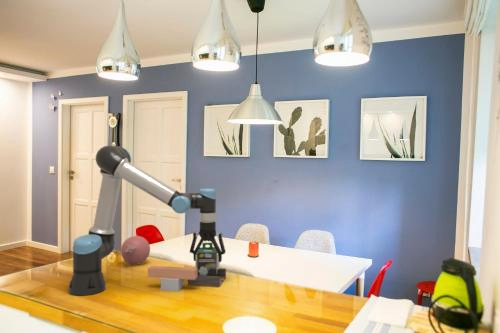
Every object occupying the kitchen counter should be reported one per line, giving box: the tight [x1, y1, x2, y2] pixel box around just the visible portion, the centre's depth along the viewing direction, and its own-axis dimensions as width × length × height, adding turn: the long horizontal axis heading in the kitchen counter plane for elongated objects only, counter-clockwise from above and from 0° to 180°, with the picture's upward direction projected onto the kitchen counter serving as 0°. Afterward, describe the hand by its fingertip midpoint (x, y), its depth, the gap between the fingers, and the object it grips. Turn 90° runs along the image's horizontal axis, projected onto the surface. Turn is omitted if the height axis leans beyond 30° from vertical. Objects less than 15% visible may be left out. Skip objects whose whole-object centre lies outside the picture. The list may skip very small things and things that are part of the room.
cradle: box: [187, 267, 227, 288], centre depth 187 cm, size 14×15×4 cm
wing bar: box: [147, 265, 198, 280], centre depth 177 cm, size 4×22×4 cm, turn 82°
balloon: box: [120, 235, 151, 265], centre depth 215 cm, size 15×20×15 cm
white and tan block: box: [160, 278, 185, 292], centre depth 177 cm, size 8×8×5 cm
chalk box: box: [197, 242, 218, 276], centre depth 187 cm, size 9×9×15 cm
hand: (207, 268), depth 187 cm, fingers closed on chalk box, 10 cm apart
